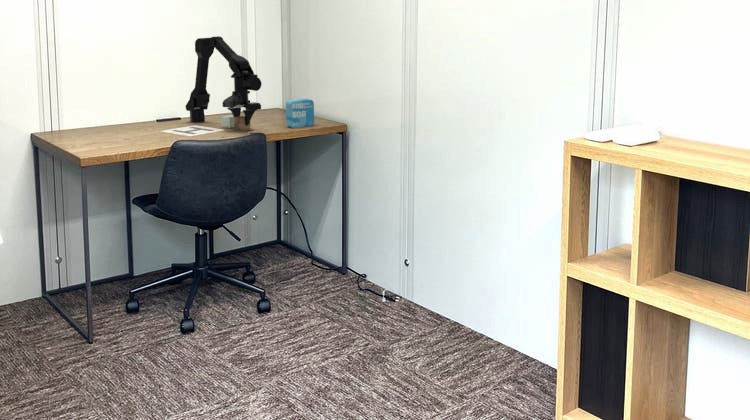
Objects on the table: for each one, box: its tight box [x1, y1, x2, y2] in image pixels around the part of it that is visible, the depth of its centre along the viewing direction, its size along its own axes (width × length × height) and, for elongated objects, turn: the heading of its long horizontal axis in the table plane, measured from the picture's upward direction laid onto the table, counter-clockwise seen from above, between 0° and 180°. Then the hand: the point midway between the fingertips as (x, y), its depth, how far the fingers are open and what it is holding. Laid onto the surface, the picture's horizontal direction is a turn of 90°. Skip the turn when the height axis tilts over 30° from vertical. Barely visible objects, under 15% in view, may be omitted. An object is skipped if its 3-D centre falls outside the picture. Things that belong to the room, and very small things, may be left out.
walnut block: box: [233, 115, 251, 131], centre depth 399 cm, size 5×5×6 cm
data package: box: [285, 98, 315, 129], centre depth 412 cm, size 12×4×12 cm, turn 123°
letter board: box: [161, 124, 225, 137], centre depth 396 cm, size 20×20×1 cm
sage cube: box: [220, 114, 234, 129], centre depth 407 cm, size 6×6×6 cm
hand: (242, 124), depth 399 cm, fingers open, 6 cm apart
